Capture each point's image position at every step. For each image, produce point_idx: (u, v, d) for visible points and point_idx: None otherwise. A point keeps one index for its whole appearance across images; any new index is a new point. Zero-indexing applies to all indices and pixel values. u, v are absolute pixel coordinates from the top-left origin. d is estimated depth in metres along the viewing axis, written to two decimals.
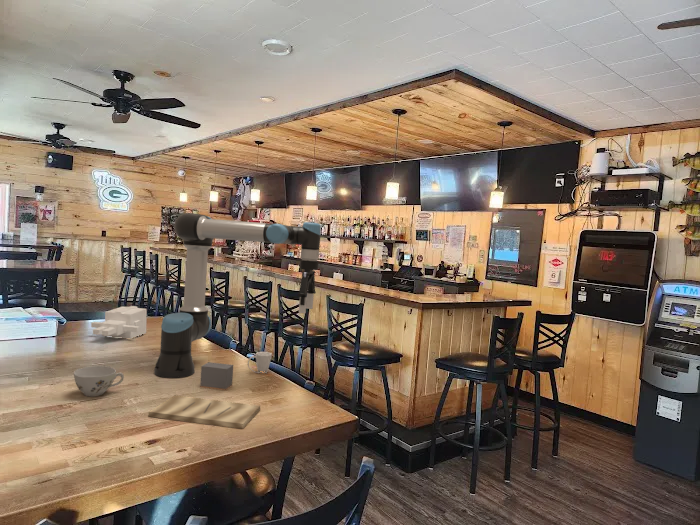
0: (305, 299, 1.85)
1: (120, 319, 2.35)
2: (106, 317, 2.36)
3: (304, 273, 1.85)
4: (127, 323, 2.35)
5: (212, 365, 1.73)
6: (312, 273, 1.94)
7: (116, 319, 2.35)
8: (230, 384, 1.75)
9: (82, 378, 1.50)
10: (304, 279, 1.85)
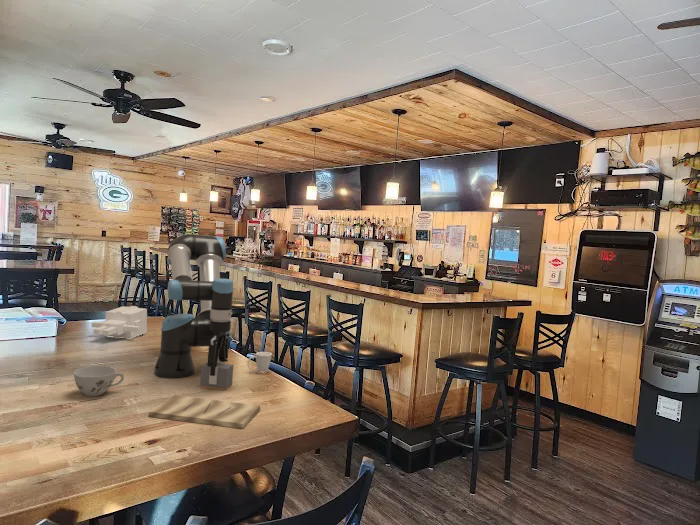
0: (216, 369, 1.70)
1: (120, 319, 2.35)
2: (106, 317, 2.36)
3: (211, 341, 1.67)
4: (127, 323, 2.35)
5: None
6: (225, 333, 1.76)
7: (116, 319, 2.36)
8: (230, 384, 1.75)
9: (82, 378, 1.50)
10: (212, 347, 1.67)
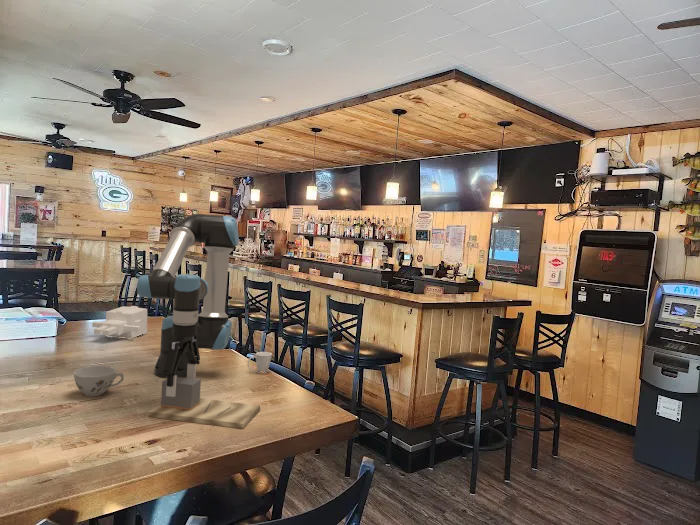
0: (174, 378, 1.41)
1: (121, 319, 2.36)
2: (107, 317, 2.37)
3: (172, 344, 1.41)
4: (128, 323, 2.35)
5: None
6: (191, 339, 1.50)
7: (117, 319, 2.36)
8: (197, 402, 1.49)
9: (82, 378, 1.50)
10: (172, 352, 1.40)
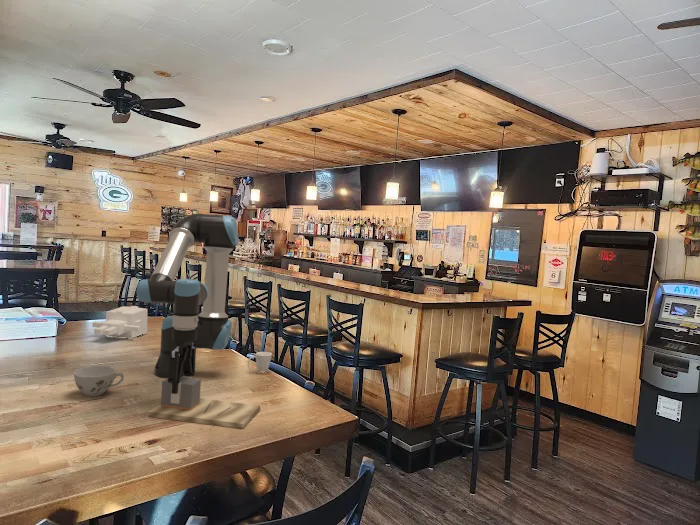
0: (178, 386, 1.44)
1: (121, 319, 2.36)
2: (107, 317, 2.37)
3: (172, 353, 1.41)
4: (128, 323, 2.36)
5: None
6: (191, 343, 1.50)
7: (117, 319, 2.36)
8: (197, 402, 1.49)
9: (82, 378, 1.50)
10: (173, 361, 1.41)
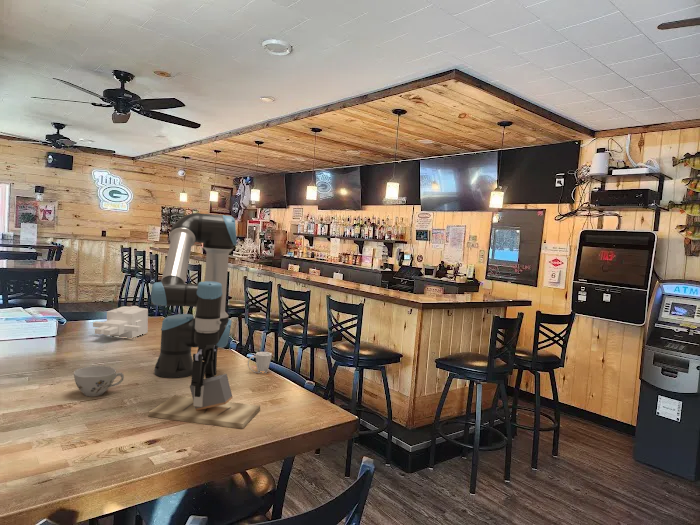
0: (201, 389, 1.43)
1: (122, 319, 2.36)
2: (108, 317, 2.37)
3: (195, 356, 1.40)
4: (129, 323, 2.36)
5: None
6: (212, 346, 1.49)
7: (118, 319, 2.37)
8: (230, 396, 1.48)
9: (82, 378, 1.50)
10: (196, 364, 1.41)
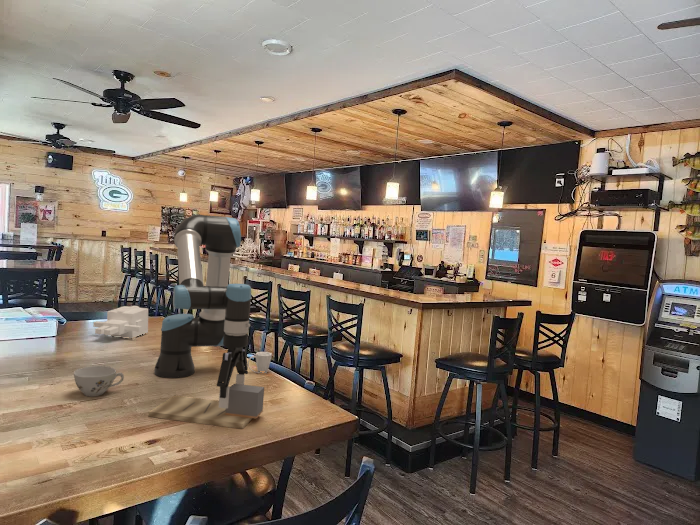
0: (227, 389, 1.39)
1: (122, 319, 2.37)
2: (108, 317, 2.38)
3: (225, 355, 1.39)
4: (129, 323, 2.36)
5: (240, 387, 1.45)
6: (241, 349, 1.48)
7: (118, 319, 2.37)
8: (261, 410, 1.46)
9: (82, 378, 1.50)
10: (225, 363, 1.38)
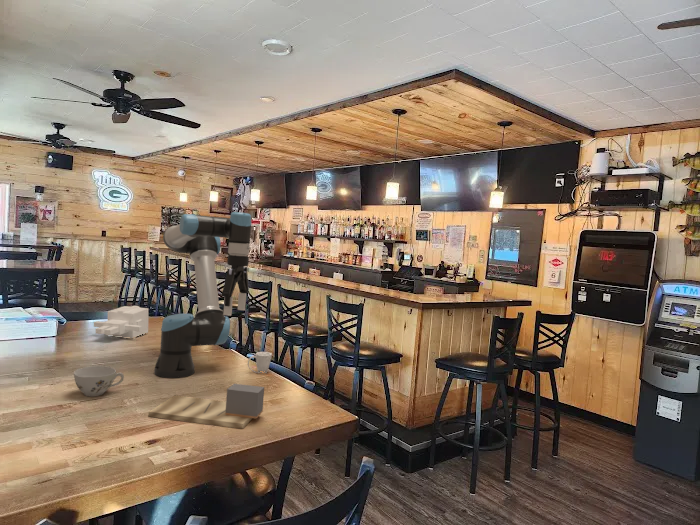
0: (230, 299, 1.63)
1: (122, 318, 2.37)
2: (108, 316, 2.38)
3: (229, 270, 1.63)
4: (129, 322, 2.37)
5: (240, 387, 1.45)
6: (242, 270, 1.72)
7: (118, 318, 2.37)
8: (261, 410, 1.46)
9: (82, 378, 1.50)
10: (229, 277, 1.62)
